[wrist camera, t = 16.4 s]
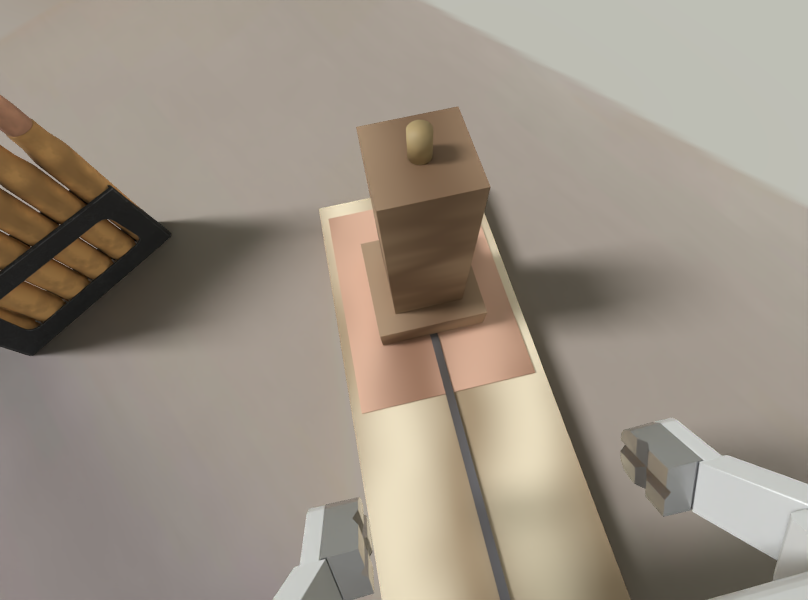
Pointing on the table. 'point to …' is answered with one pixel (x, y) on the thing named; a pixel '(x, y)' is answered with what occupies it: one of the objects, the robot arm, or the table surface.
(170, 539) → the table surface
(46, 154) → the ammunition clip
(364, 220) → the maple board
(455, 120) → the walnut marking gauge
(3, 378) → the table surface
